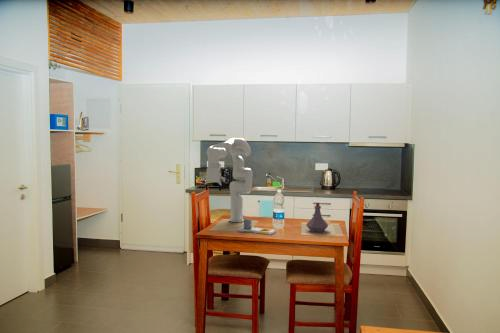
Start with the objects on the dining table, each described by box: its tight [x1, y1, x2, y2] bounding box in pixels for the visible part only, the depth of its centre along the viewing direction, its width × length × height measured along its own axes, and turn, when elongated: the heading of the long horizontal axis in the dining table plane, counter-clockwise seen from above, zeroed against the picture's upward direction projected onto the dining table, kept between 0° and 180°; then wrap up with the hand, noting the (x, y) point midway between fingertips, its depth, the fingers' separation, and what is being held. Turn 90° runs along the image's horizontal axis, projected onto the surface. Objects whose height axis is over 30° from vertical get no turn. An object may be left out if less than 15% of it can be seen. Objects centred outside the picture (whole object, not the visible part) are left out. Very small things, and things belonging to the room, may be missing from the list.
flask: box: [305, 202, 329, 233], centre depth 282 cm, size 16×16×20 cm
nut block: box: [243, 218, 252, 229], centre depth 281 cm, size 4×4×8 cm
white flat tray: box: [236, 225, 277, 236], centre depth 278 cm, size 9×26×2 cm, turn 64°
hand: (213, 190), depth 274 cm, fingers open, 9 cm apart
